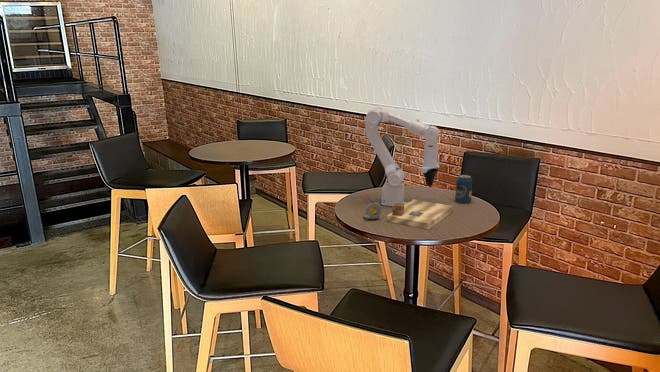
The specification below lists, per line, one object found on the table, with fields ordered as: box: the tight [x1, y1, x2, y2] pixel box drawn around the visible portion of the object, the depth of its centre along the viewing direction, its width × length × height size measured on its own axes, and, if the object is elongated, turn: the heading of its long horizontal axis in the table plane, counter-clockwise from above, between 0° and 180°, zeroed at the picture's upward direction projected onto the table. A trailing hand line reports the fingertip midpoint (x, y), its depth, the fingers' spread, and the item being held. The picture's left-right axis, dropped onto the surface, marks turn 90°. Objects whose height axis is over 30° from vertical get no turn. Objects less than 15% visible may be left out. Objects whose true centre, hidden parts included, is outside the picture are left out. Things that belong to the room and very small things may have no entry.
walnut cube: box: [391, 203, 404, 216], centre depth 204 cm, size 4×4×4 cm
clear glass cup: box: [363, 196, 383, 220], centre depth 206 cm, size 8×8×10 cm
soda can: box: [454, 174, 473, 205], centre depth 226 cm, size 7×7×12 cm
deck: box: [386, 198, 454, 231], centre depth 209 cm, size 18×26×2 cm
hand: (429, 185), depth 218 cm, fingers closed
